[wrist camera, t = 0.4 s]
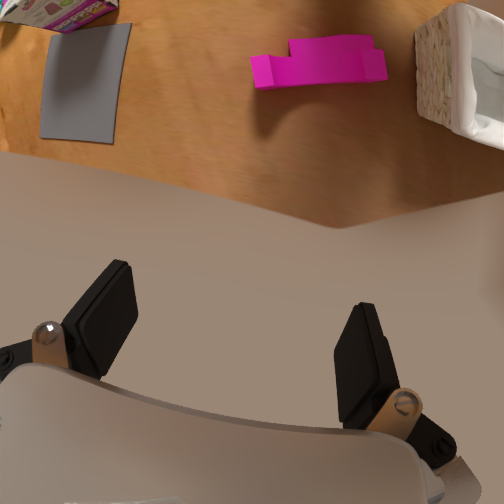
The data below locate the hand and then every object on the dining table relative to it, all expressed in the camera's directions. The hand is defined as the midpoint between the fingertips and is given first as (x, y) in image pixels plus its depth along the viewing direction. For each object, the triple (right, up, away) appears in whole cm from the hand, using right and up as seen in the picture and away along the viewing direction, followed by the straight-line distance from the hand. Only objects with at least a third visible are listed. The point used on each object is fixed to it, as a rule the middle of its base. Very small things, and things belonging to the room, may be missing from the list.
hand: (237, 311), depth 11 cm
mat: (-28, +30, +23) cm, 47 cm away
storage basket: (+34, +27, +16) cm, 47 cm away
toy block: (+9, +27, +20) cm, 35 cm away
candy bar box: (-25, +41, +16) cm, 51 cm away
